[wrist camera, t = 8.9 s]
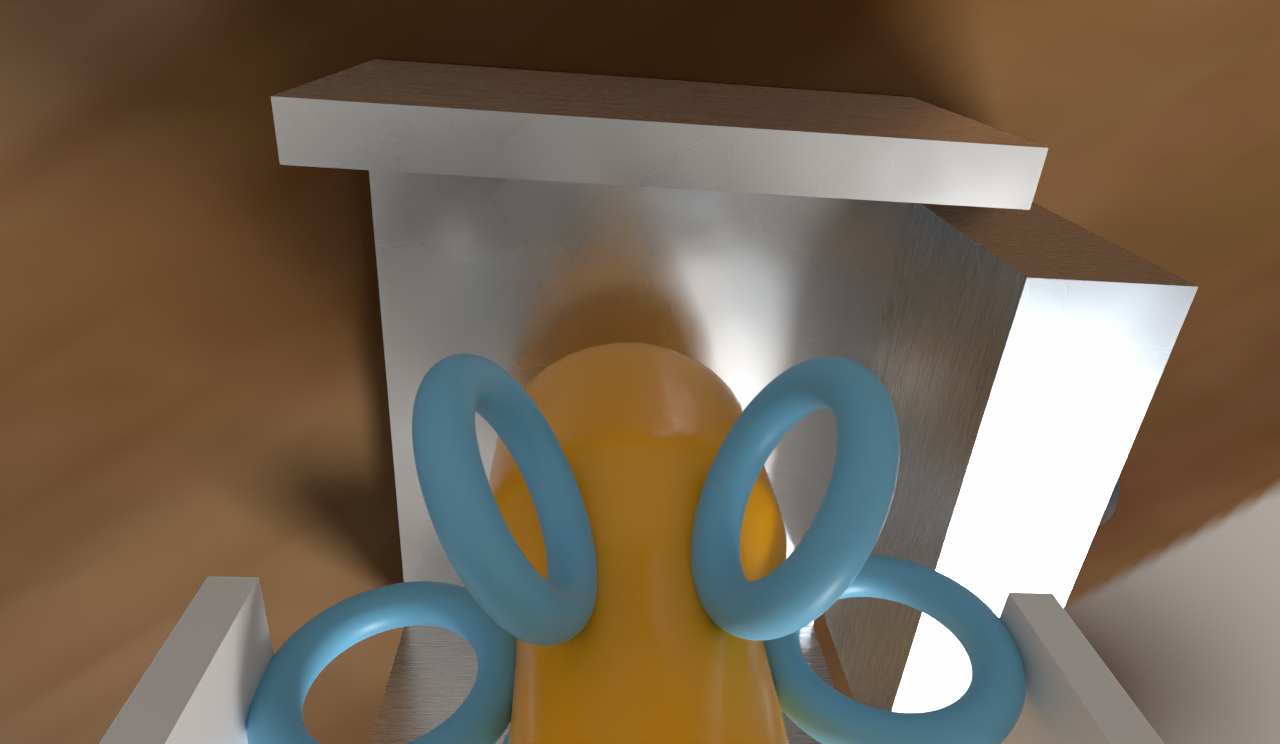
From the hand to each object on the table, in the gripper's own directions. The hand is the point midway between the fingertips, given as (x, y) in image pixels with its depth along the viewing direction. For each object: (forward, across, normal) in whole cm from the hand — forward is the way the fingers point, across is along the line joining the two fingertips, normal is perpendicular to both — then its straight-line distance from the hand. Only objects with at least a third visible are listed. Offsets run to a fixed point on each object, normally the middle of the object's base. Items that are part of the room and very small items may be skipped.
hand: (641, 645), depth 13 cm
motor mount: (+9, +3, 0) cm, 9 cm away
